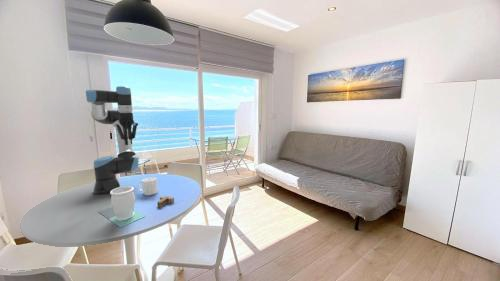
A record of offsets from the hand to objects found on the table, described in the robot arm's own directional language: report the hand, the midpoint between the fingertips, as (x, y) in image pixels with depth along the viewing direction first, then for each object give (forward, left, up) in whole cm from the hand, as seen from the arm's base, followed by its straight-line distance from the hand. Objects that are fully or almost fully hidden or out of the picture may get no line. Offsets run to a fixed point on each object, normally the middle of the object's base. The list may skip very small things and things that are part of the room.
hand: (129, 149), depth 128 cm
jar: (+25, -16, -30) cm, 42 cm away
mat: (+20, -16, -30) cm, 40 cm away
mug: (+4, +8, -31) cm, 32 cm away
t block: (+28, +4, -31) cm, 42 cm away
